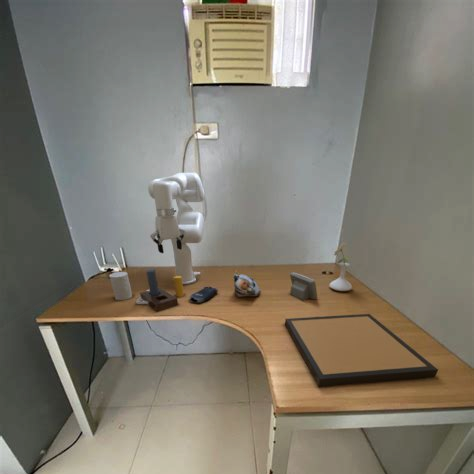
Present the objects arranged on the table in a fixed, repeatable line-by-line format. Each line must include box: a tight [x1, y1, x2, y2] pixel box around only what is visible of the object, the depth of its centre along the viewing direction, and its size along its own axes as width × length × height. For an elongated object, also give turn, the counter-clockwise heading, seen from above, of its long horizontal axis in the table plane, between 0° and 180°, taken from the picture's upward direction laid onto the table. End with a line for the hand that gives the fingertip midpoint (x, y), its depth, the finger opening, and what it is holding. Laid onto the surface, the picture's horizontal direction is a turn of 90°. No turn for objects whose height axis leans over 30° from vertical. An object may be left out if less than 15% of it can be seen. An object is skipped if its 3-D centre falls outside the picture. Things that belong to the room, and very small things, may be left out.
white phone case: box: [136, 289, 150, 305], centre depth 128 cm, size 7×1×15 cm
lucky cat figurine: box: [233, 272, 262, 298], centre depth 127 cm, size 15×12×14 cm
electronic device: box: [189, 286, 219, 303], centre depth 127 cm, size 9×6×15 cm
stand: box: [139, 287, 179, 312], centre depth 123 cm, size 11×18×4 cm, turn 40°
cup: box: [109, 271, 133, 301], centre depth 127 cm, size 8×8×12 cm
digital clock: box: [289, 272, 318, 301], centre depth 127 cm, size 16×9×11 cm, turn 20°
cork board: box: [284, 313, 439, 388], centre depth 88 cm, size 36×3×35 cm
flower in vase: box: [329, 242, 353, 292], centre depth 130 cm, size 13×11×25 cm
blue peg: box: [145, 268, 159, 296], centre depth 123 cm, size 4×4×15 cm
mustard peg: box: [173, 275, 185, 298], centre depth 129 cm, size 4×4×10 cm
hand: (170, 250), depth 122 cm, fingers open, 9 cm apart
